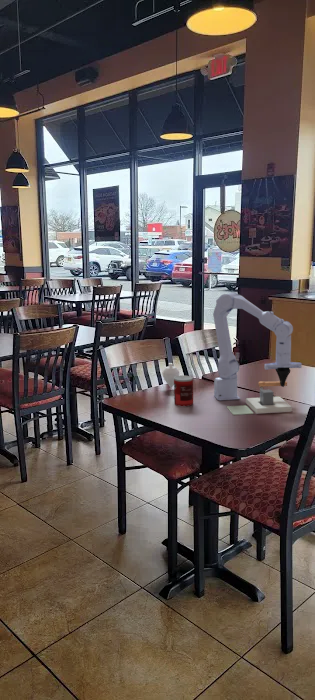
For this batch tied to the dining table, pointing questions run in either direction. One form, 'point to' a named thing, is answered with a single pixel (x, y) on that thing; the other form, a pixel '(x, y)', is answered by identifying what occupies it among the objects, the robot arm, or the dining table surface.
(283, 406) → the socket block
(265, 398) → the gray rectangular block
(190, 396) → the canned food
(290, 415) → the dining table surface
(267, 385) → the bar
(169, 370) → the spinning top
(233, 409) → the mat
